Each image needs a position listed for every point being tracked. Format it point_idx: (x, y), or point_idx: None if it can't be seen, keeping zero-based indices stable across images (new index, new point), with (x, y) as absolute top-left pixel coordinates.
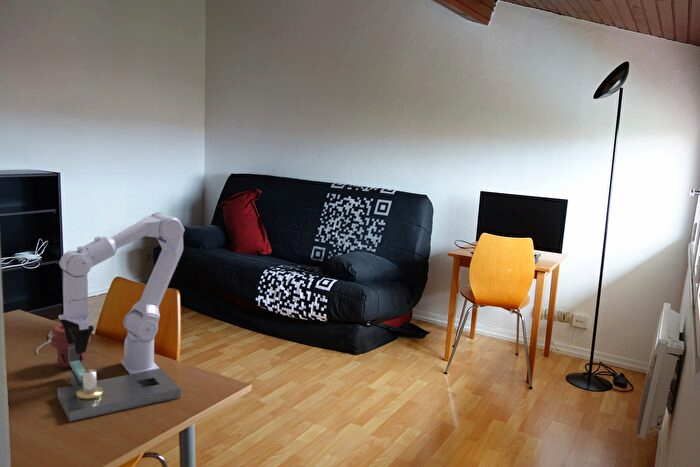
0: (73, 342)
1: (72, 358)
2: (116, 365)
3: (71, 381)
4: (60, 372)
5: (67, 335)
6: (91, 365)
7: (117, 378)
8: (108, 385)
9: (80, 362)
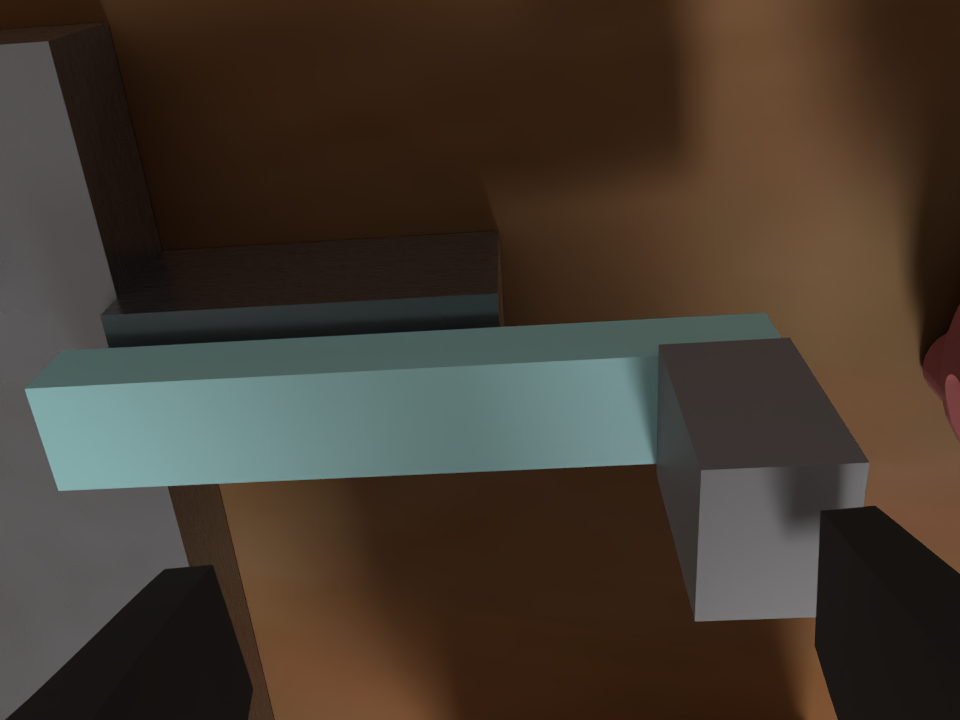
0: (820, 609)
1: (667, 402)
2: (769, 690)
3: (476, 243)
4: (921, 154)
5: (925, 654)
6: (920, 499)
7: None
8: (6, 584)
9: (547, 468)
